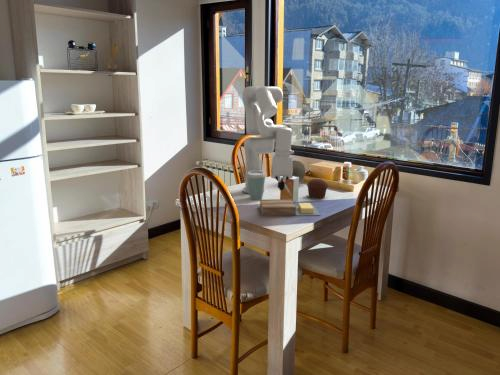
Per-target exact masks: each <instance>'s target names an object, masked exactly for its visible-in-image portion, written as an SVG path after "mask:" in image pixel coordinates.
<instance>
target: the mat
mask: <svg viewBox="0 0 500 375" xmlns="http://www.w3.org/2000/svg"><path fill="white" fill-rule="evenodd" d="M294 205H295V207H296V215H295V216H296V217H297V216H298V217H303V216H304V217H306V216H319V217H320V216H321V213H320V212H319V211H318V209H317V208H316V207H315V205H313V204H311V205H312V206H313V208H314V212H313V213H301V212H300V210H299V208H298V206H299V204H298V205H296V204H294Z"/></svg>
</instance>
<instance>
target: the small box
mask: <svg viewBox="0 0 500 375" xmlns="http://www.w3.org/2000/svg"><path fill="white" fill-rule="evenodd" d="M280 179H281V181H282V179H283V176H280ZM299 185H300V182H299V177H294V176H293V178H290V179H287V180H286V181H285V185H284V188H283V190H280V189H279V192H280V193H279V194H280V195H279V199H291V200H292V202H293V203H295V202H298V201H299V189H300V188H299V187H300V186H299Z"/></svg>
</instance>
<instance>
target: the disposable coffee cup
mask: <svg viewBox="0 0 500 375" xmlns="http://www.w3.org/2000/svg"><path fill="white" fill-rule="evenodd" d="M246 177H247V180H248V186H249V193H250V194H249V197H250V200H253V201H260V200H263V197H264V196H263V195H264V192H263V189H264V190H265V188H264V187H265V182H266V177H267V176H266V173H265V171H263V170H262V171H259V170H253V171H249V172H248V173H247V176H246V175H245V178H246Z"/></svg>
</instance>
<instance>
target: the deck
mask: <svg viewBox="0 0 500 375" xmlns="http://www.w3.org/2000/svg"><path fill="white" fill-rule="evenodd" d="M259 201H260V202H259V208H260V211H261V214H262V217H263V216H296V207H295V205H296V204H295V202H292V200H291V199H280V198H279V199H275V198H274V199H272V198H271V199H260V200H259Z"/></svg>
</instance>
